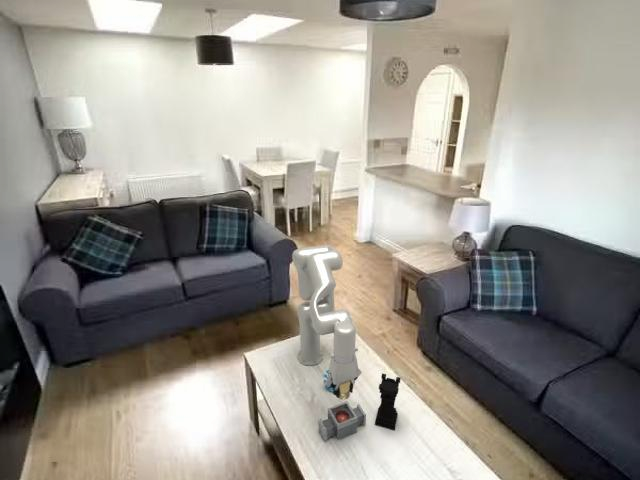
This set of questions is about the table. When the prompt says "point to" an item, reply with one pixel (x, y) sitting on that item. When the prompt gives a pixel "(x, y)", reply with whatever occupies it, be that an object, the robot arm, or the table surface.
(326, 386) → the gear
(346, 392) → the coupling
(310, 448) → the table surface
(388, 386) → the chess piece
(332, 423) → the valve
